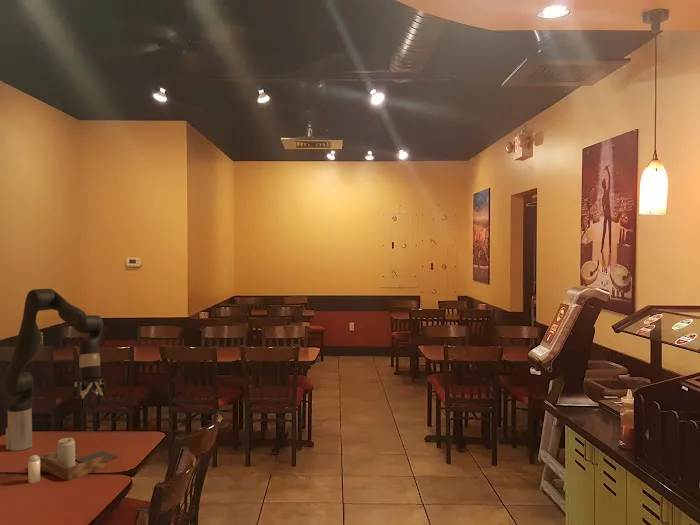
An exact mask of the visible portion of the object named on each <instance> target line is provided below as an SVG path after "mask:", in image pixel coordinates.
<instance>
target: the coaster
mask: <svg viewBox="0 0 700 525" xmlns="http://www.w3.org/2000/svg"><path fill="white" fill-rule="evenodd" d="M105 455H106V456H107V460H110V459H113V460H115V459H114V458H116V459H118V458H119V456H117V455H115V454H112V453H109V452H106V451H104V450H100V451H96V452H94V453H90V454H88V455H85V456H81V457H78V458H75V460H77V461H76V462H78V461H79V462H78V463H80V462H82V463H84V462H87V461H90V460H93V459H96V458H99V457H102V456H105ZM117 457H118V458H117ZM110 461H111V460H110Z"/></svg>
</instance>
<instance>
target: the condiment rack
mask: <svg viewBox="0 0 700 525" xmlns="http://www.w3.org/2000/svg"><path fill="white" fill-rule="evenodd" d="M78 452H79V450H78V445H77V444H75V456H76V457H78V456H77V455H79V454H78ZM38 456H39V457H40V468H41V469H43V470H42V471H44V470H45V471H44V472H46V471H47V472H46V473H49V474H51V475H54V476H56V477H57V478H58V477H59V478H60V479H63V480H66V481H72V480H75V479H77V478H80V477H82V476H86V475H88V473H89V474H91V473H93V472H92V471H94V472H96V471H95V470H97V471H99V470H98V469H100V468H102V469H104V468H103V467H105V466H107V467H108V461H107V456H106V455H105V456H102V457H99V458H96V459H93V460H90V461H87V462H84V463H78V464H75V466H72V467H67V466H65V465H62V464H60V463H57V462H58V456H57V450H55V451H52V452H49V453H46V454H43V455H38ZM105 468H106V467H105ZM41 469H40V470H41ZM100 470H101V469H100ZM90 472H91V473H90Z"/></svg>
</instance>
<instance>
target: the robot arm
mask: <svg viewBox="0 0 700 525" xmlns="http://www.w3.org/2000/svg"><path fill="white" fill-rule="evenodd" d="M49 310H52V311H57V314H58V316H59V318H60V319H61V320H63V321H64V322H65V323H67V324H69V325H71V327H72V328H73V329H74V330H75V331H76V332H78V333H81V334H82V333H83V334H89V335H88V337H87V338H85V339H82V340H80V342H79V360H78V362H79V379H80V381H74V382H73V384H72V385H73V386H72V389H73V390H72V391H73V392H72V397H73V399H77V407H78V409H79V410H84V409H85V396H86V395H87V394H89V392H93V393H94V394H95V396H96V398H95V399H96V400H95V401H96V402H95V403H96V407H101V406H103V397H104V395H106V394H107V393H108V391H107V390H108V389H107V380H106V378H100V377H101V356H100V342H101V338H102V333H103V331H104V330H103V329H104V320H103V318H102V317H101V316H100V315H97V314H95V315H94V314H93V315H90V314H88V315H87V314H86V312H85V311H83V310H82V309H80V308H79V307H77V306H75V305H72V304H71V303H70V302H68V301H67V299H65V298H64V297H63V296H62V295H60V294H59V293H58V292H57V291H55V290H54V289H53V288H37V289H30V291H29V292H27V294H26V298H25V301H24V309H23V313H22V314H23V315H22V319H21V323H20V327H19V331H18V335H17V338H16V341H15V344H14V350H13V353H12V357H11V360H10V363H9V366H8V368H7V370H6V372H5V376H4V377H3V380H2V391H3V393H4V394H5V396H8V397H11V396H17V397H16V398H15V399H13V400H12V401H11V402H10V401H9V403H8V404H7V427H6V428H5V450H6V451H13V452H15V451H22V450H23V451H24V450H26V449H29V448H32V446H33V416H32V415H33V414H32V412H33V410H32V409H33V408H32V405H33V402H34V386H35V383H34V377H33V375H32V374H31V373H30V372H29V371H23V370H24V369H25V368H26V366H27V365H28V364H29V363H30V362H31V361H32V359H33V358H35V357H36V355H37V354H38V352H39V349H40V347H41V342H42V339H43V335H42V332H41V330H40V328H39V326H38V324H37V316H38V313H39V312H43V311H49Z"/></svg>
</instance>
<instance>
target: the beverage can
mask: <svg viewBox="0 0 700 525" xmlns="http://www.w3.org/2000/svg"><path fill="white" fill-rule="evenodd" d="M75 445H76V441H75V438H73V437H64V438H60V439H59V440H58V442H57V445H56V446H57V447H56V448H57V450H56V451H57V456H58V463H60V464H62V465H65V466H67V467H72V466H75V465H76V461H75V459H76V457H75Z"/></svg>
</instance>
